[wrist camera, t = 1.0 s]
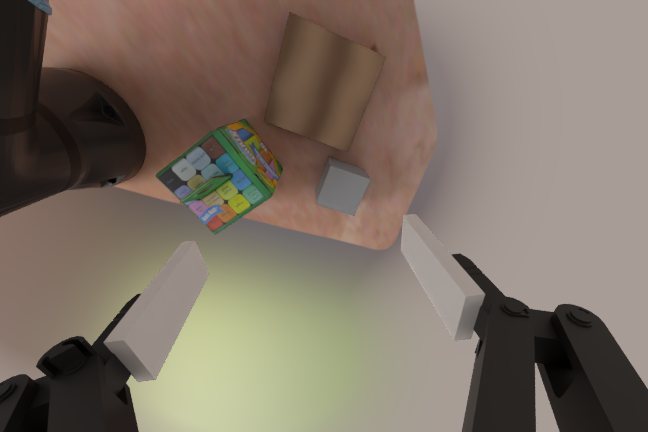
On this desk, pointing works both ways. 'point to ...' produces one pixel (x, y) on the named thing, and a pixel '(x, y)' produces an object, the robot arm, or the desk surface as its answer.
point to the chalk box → (223, 175)
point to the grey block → (341, 186)
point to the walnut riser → (321, 84)
